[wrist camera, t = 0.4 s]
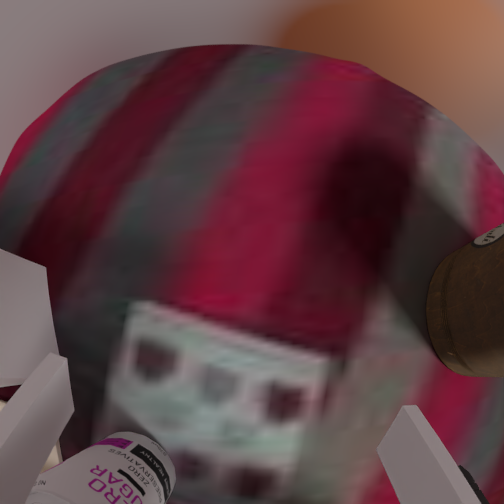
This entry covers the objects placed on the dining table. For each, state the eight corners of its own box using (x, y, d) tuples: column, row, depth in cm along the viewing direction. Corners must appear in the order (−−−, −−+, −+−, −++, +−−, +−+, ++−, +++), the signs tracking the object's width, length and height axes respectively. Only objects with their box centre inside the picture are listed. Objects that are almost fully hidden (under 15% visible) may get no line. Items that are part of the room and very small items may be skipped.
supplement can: (93, 478, 23) (12, 537, 8) (109, 416, 25) (13, 455, 11) (166, 511, 22) (119, 599, 8) (187, 449, 24) (139, 529, 10)
